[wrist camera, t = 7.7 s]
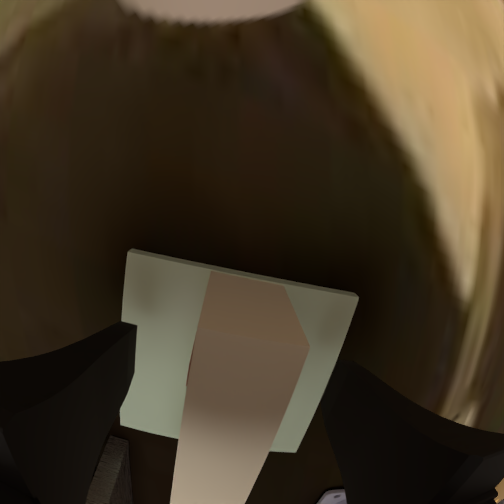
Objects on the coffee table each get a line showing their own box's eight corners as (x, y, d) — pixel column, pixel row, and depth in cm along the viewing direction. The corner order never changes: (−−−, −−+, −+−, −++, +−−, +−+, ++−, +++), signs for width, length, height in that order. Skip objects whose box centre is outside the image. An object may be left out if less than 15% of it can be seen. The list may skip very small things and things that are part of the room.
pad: (354, 292, 14) (359, 297, 13) (294, 445, 16) (295, 452, 15) (132, 248, 13) (127, 251, 12) (123, 418, 15) (120, 424, 14)
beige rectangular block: (284, 285, 13) (312, 347, 8) (235, 448, 15) (237, 520, 10) (209, 270, 13) (195, 326, 8) (179, 439, 15) (168, 511, 10)
